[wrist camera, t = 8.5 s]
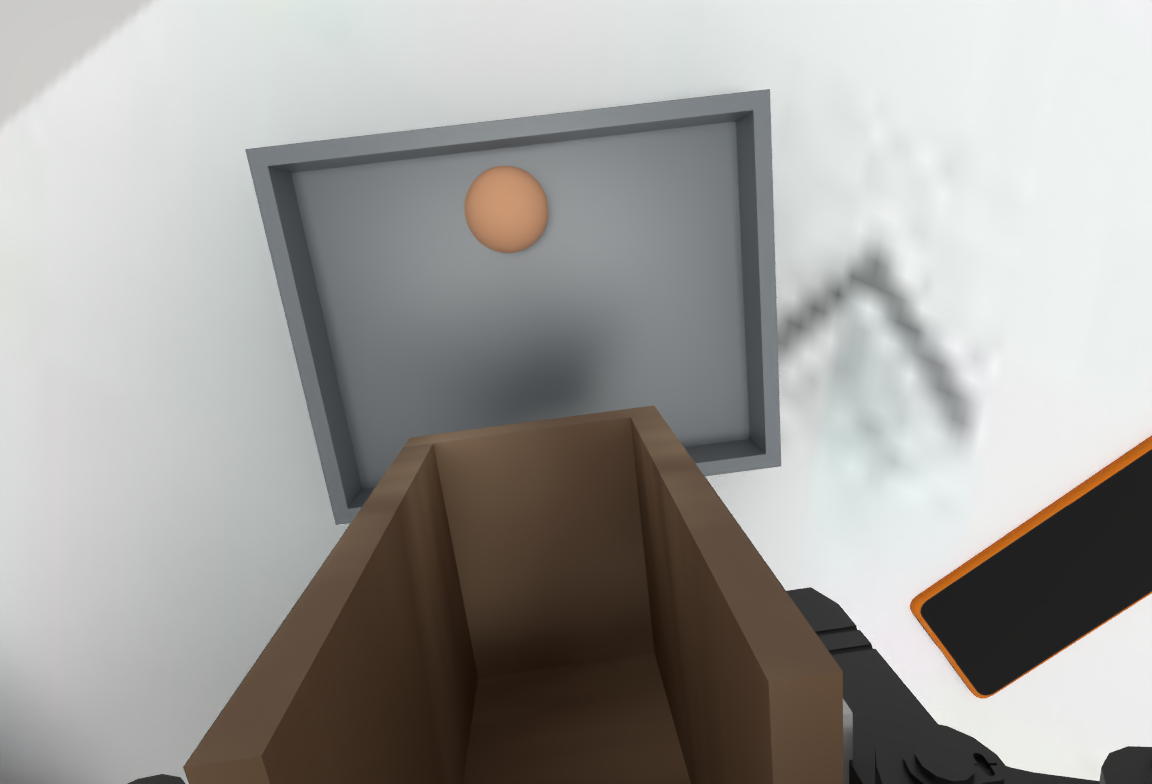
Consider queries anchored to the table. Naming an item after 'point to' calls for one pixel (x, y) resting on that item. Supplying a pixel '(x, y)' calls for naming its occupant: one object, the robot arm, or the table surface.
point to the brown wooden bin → (538, 630)
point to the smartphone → (1047, 579)
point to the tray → (532, 282)
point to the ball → (506, 209)
